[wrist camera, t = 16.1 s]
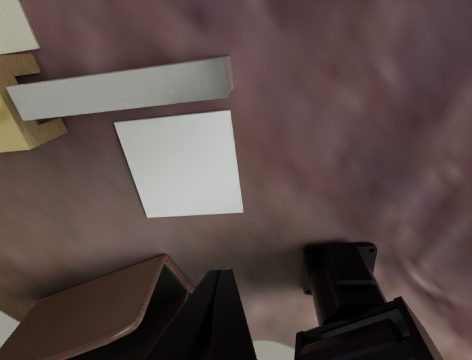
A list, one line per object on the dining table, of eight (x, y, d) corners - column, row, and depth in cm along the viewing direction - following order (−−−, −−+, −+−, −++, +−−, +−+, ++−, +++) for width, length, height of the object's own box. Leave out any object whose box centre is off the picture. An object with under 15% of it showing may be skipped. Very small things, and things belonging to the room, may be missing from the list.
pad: (243, 210, 22) (243, 212, 22) (148, 215, 23) (147, 217, 23) (229, 109, 18) (229, 110, 18) (115, 121, 19) (113, 122, 19)
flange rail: (235, 95, 18) (225, 117, 12) (-26, 125, 20) (-125, 153, 15) (210, -118, 13) (176, -233, 8) (-130, -41, 16) (-330, -85, 10)
